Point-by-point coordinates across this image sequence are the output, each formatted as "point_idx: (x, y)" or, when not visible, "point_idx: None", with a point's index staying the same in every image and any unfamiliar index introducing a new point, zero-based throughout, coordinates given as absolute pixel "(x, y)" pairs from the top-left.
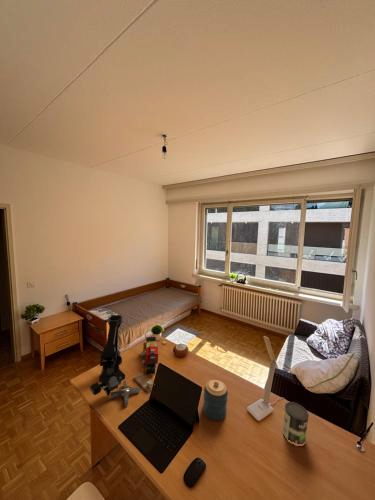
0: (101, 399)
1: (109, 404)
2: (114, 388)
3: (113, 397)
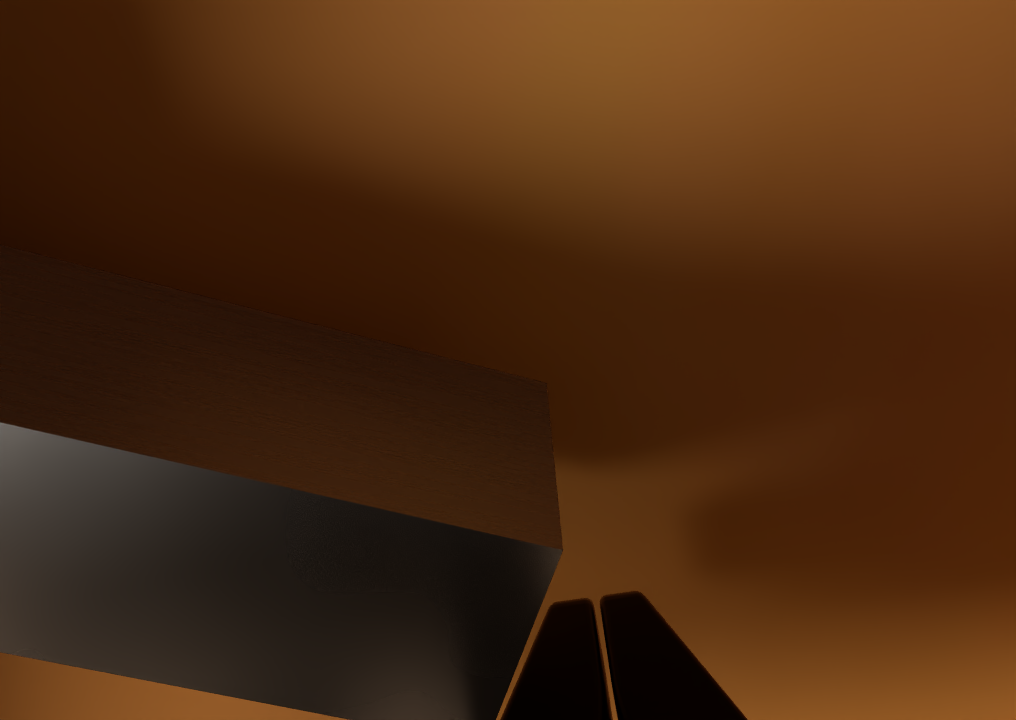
0: (904, 579)
1: (719, 10)
2: None
3: (360, 346)
